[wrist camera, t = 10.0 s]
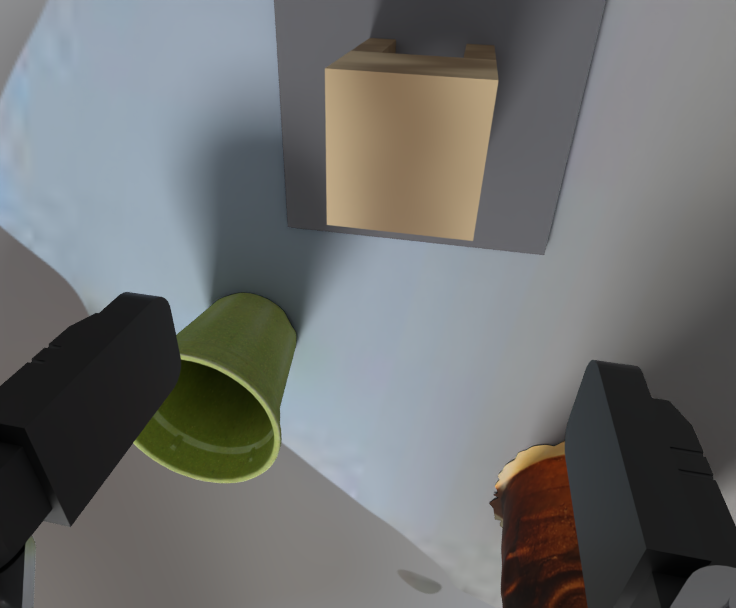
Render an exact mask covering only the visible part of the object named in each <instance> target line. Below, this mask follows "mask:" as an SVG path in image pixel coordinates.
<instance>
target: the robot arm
mask: <svg viewBox="0 0 736 608" xmlns="http://www.w3.org/2000/svg"><path fill="white" fill-rule="evenodd" d="M180 370H181V356H180V351H179V347H178V342H177V337H176V332H175V328H174V323H173V318H172V313H171V309H170V305H169V303H168V301H167V300H166V299H165V298H163V297H158V296H151V295H144V294H137V293H130V292H125V293H122V294H120V295H119V296H118V297H117V298H116V299H114V300H113V301H112V302H111V303H110V304H109V305H108V306H107V307H105V308H104V309H103V310H102V311H101V312H100V313H95V314H93V315H91V316H89V317H87V318H85V319H83V320H81V321H79V322H77V323H75V324H74V325H71V326H69V327H68V328H67V329H66V330H65V331H63V332H62V333H61V334H60V335H59V336H58V337H56V338H55V339H54V340H53V341H52V342H51V343H49V347H48V348H44V349H43V350H41V351H40V352H39V353H38V354H37V355H36V356H34V357H33V358H32V362H31V363H26V364H25V365H24V366H23V367H22V368H21V369H19V370H18V371H17V372H16V373H15V374H14V375H12V376H11V377H10V378H9V379H8V380H7V381H5V382H4V383H3V384H2V385H1V386H0V608H34V583H35V581H34V580H35V554H36V546H35V541H34V538H33V536H32V534H33V533H34V531H35V530H36V529H37V528H38V526H39V525H40V524H41V523H42V522H43V521H46V522H50V523H56V524H60V525H64V526H69V527H71V526H72V524H73V523H74V522H75V520H76V519H77V518H78V516H79V515H80V514H81V512H82V511H83V510H84V508H85V507H86V506H87V504H88V503H89V502H90V500H91V499H92V498H93V496H94V495H95V493H96V492H97V491H98V489H99V488H100V487H101V485H102V484H103V483H104V481H105V480H106V479H107V477H108V476H109V475H110V473H111V472H112V471H113V469H114V468H115V467H116V465H117V464H118V463H119V461H120V460H121V459H122V457H123V456H124V454H125V453H126V452H127V450H128V449H129V448H130V446H131V445H132V444H133V442H134V441H135V440H136V438H137V437H138V436H139V434H140V433H141V432H142V430H143V429H144V428H145V426H146V425H147V424H148V422H149V421H150V420H151V418H152V417H153V416H154V414H155V413H156V412H157V410H158V409H159V408H160V406H161V405H162V404H163V402H164V401H165V400H166V398H167V397H168V395H169V394H170V393H171V391H172V390H173V389H174V387H175V385H176V383H177V381H178V378H179V375H180ZM565 459H566V466H567V472H568V479H569V486H570V492H571V499H572V506H573V512H574V519H575V526H576V532H577V539H578V546H579V552H580V559H581V566H582V572H583V579H584V585H585V592H586V599H587V605H588V608H736V526H735V524H734V521H733V519H732V517H731V514H730V512H729V510H728V508H727V505H726V503H725V501H724V498H723V496H722V494H721V491H720V489H719V487H718V485H717V482H716V481H715V480H713V473H712V471H711V468H710V466H709V464H708V462H707V459H706V457H703V450H702V448H701V445H700V443H699V441H698V438H697V436H696V434H695V432H694V429H693V427H692V425H691V424H690V423H689V422H688V421H687V420H686V419H685V418H684V416H683V415H682V414H681V413H680V412H679V411H678V410H677V409H676V408H675V407H674V406H673V405H672V404H671V403H670V402H669V401H667V400H661V399H654V398H652V397H651V395H650V392H649V389H648V387H647V384H646V381H645V378H644V376H643V373H642V371H641V369H640V368H639V367H638V366H632V365H625V364H618V363H611V362H604V361H597V360H591V361H590V362H589V364H588V366H587V368H586V370H585V373H584V376H583V379H582V382H581V385H580V388H579V391H578V394H577V397H576V399H575V402H574V405H573V408H572V411H571V414H570V417H569V420H568V423H567V428H566V434H565Z"/></svg>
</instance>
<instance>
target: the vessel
mask: <svg viewBox="0 0 736 608" xmlns="http://www.w3.org/2000/svg"><path fill="white" fill-rule="evenodd" d="M498 477H499V479H500V480H499V481H498V482H497V484H496V485H495V487H496V489H497V492H498V493H497V494H494V496H496V497H498V498H497V499H495V500H493V501H492V502H490V503H489V504H490V505H491V506H492V507H493V509H494V515H495V519H496V520H500V521H501V522H500V526H501V527H502V528H503V530H502V545H501V554H502V577H501V597H502V603H503V608H588V605H587V599H586V592H585V585H584V579H583V572H582V566H581V559H580V552H579V546H578V539H577V532H576V526H575V519H574V512H573V506H572V499H571V492H570V486H569V479H568V472H567V466H566V459H565V441H564V442H562V443H560V444H558V445H556V446H549V445H541V446H533V447H531V448H529V449H528V450H525V451H522V452H519V453H518V455H517V457H516V459H515V460H514V461H512V462H510V463H508V464H507V465H505V467H504V469H503V471H502V472H501V473H500V474H499V475H498Z"/></svg>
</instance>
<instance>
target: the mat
mask: <svg viewBox="0 0 736 608" xmlns="http://www.w3.org/2000/svg"><path fill="white" fill-rule="evenodd" d="M605 3H606V0H274V7H275V24H276V40H277V56H278V73H279V89H280V106H281V122H282V139H283V155H284V172H285V188H286V205H287V221H288V227H291V228H301V229H310V230H319V231H328V232H337V233H346V234H356V235H365V236H374V237H383V238H392V239H401V240H411V241H420V242H429V243H438V244H447V245H456V246H466V247H475V248H484V249H493V250H502V251H511V252H520V253H530V254H539V255H544V254H545V250H546V245H547V241H548V237H549V233H550V229H551V225H552V221H553V217H554V213H555V208H556V204H557V200H558V196H559V192H560V188H561V184H562V180H563V176H564V171H565V167H566V163H567V159H568V155H569V151H570V147H571V143H572V139H573V134H574V130H575V126H576V122H577V118H578V114H579V110H580V106H581V102H582V98H583V93H584V89H585V85H586V81H587V77H588V73H589V69H590V65H591V61H592V56H593V52H594V48H595V44H596V40H597V36H598V32H599V28H600V24H601V19H602V15H603V11H604V7H605ZM369 38H379V39H395V40H396V52H395V54H411V55H427V56H442V57H458V58H464V53H465V49H466V44H479V45H494V46H495V54H496V63H497V71H498V80H499V81H498V87H497V93H496V99H495V106H494V112H493V118H492V125H491V131H490V137H489V143H488V150H487V156H486V162H485V169H484V175H483V181H482V187H481V194H480V200H479V206H478V213H477V219H476V225H475V231H474V238H473V241H469V240H460V239H451V238H442V237H433V236H424V235H415V234H405V233H396V232H387V231H378V230H369V229H360V228H351V227H342V226H333V225H327V196H326V116H325V68H326V67H328V66H329V65H331V64H332V63H334V62H335V61H336V60H338V59H339V58H341V57H342V56H344V55H345V54H347V53H348V52H350V51H351V50H353V49H354V48H356V47H357V46H359V45H360V44H361V43H363V42H364V41H366V40H367V39H369Z"/></svg>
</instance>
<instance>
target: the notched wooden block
mask: <svg viewBox="0 0 736 608" xmlns="http://www.w3.org/2000/svg"><path fill="white" fill-rule="evenodd" d="M395 52H396V40H395V39H379V38H369V39H367V40H366V41H364V42H363V43H361V44H360V45H359V46H357V47H356V48H354V49H353V50H351V51H350V52H348V53H347V54H345V55H344V56H342V57H341V58H339V59H338V60H336V61H335V62H334V63H332V64H331V65H329V66H328V67H326V68H325V116H326V196H327V225H333V226H342V227H351V228H360V229H369V230H378V231H387V232H396V233H405V234H415V235H424V236H433V237H442V238H451V239H460V240H469V241H473V238H474V231H475V225H476V219H477V213H478V206H479V200H480V194H481V187H482V181H483V175H484V169H485V162H486V156H487V150H488V143H489V137H490V131H491V125H492V118H493V112H494V106H495V99H496V93H497V87H498V81H499V80H498V71H497V63H496V54H495V46H494V45H479V44H466V49H465V53H464V58H458V57H442V56H427V55H411V54H395Z"/></svg>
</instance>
